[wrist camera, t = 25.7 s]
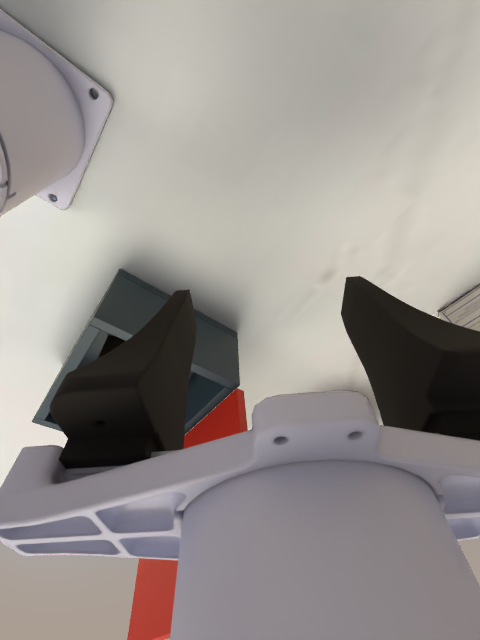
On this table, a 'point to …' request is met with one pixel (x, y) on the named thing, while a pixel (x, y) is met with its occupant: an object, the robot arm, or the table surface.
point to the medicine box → (464, 311)
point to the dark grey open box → (132, 315)
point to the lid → (160, 575)
